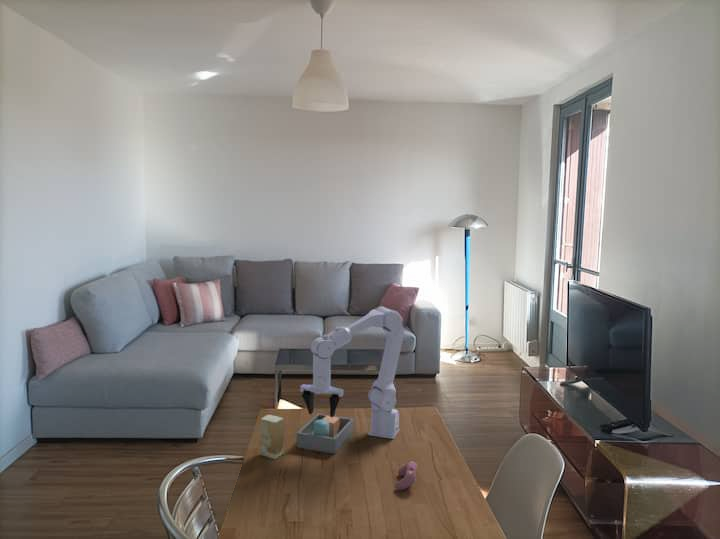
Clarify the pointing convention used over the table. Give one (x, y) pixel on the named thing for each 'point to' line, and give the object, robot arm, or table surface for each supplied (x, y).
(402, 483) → the pink curved lump
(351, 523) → the table surface
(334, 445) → the tote
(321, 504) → the table surface
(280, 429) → the skincare box
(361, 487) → the table surface
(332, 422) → the terracotta cube
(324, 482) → the table surface
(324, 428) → the teal cylinder
